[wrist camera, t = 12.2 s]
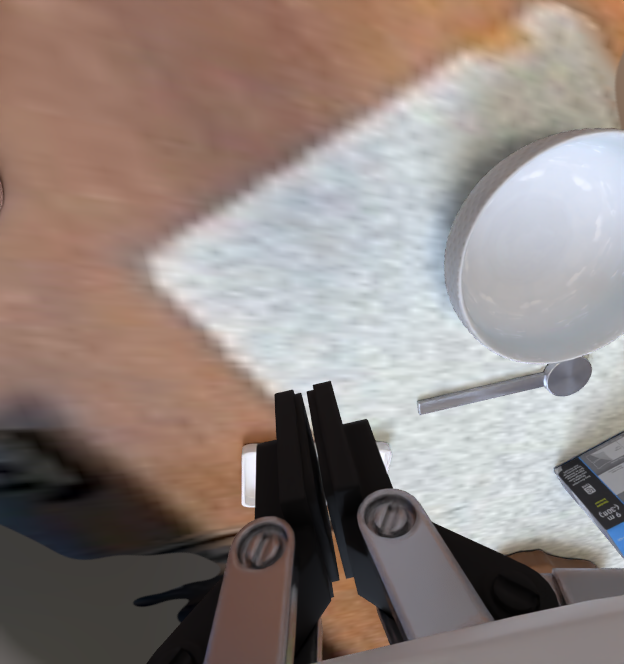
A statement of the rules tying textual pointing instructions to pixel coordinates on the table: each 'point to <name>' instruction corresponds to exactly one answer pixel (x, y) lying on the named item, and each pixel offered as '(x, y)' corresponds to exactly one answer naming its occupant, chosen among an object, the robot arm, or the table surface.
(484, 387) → the spoon
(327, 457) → the robot arm
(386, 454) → the phone case
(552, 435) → the table surface
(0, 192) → the beer glass
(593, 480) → the blue cardboard box
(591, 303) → the cereal bowl
